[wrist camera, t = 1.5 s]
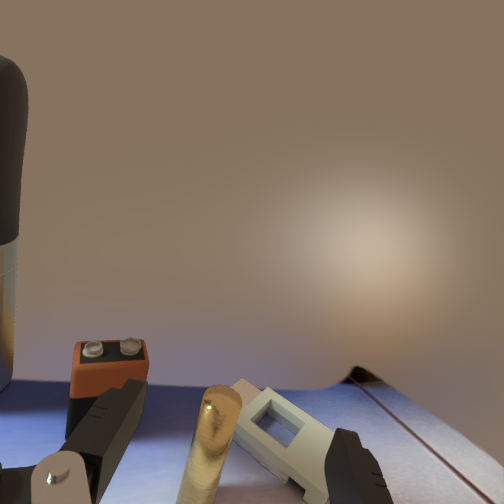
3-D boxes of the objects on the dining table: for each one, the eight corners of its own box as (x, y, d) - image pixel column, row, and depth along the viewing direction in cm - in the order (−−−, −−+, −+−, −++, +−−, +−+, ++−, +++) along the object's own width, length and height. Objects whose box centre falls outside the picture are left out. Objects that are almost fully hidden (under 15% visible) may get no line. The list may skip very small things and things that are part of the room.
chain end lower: (315, 438, 39) (318, 431, 39) (285, 484, 33) (288, 476, 32) (240, 384, 45) (242, 377, 45) (202, 414, 39) (204, 406, 38)
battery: (137, 433, 34) (152, 355, 31) (64, 445, 31) (73, 360, 28) (133, 402, 38) (146, 330, 35) (67, 410, 35) (76, 332, 32)
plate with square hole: (227, 435, 37) (231, 419, 36) (262, 400, 43) (267, 386, 43) (320, 513, 31) (328, 496, 30) (345, 460, 38) (352, 445, 37)
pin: (168, 504, 28) (195, 397, 25) (193, 479, 31) (220, 379, 28) (193, 532, 27) (225, 422, 23) (218, 503, 29) (250, 401, 26)
